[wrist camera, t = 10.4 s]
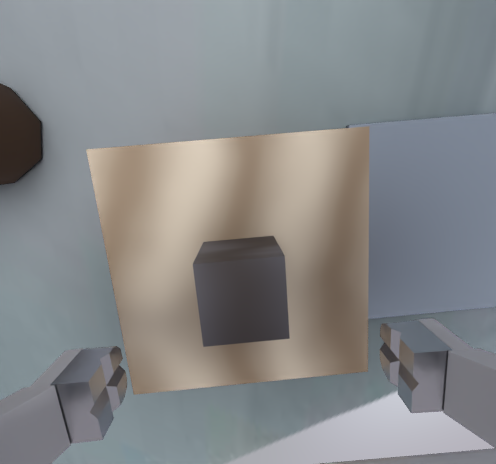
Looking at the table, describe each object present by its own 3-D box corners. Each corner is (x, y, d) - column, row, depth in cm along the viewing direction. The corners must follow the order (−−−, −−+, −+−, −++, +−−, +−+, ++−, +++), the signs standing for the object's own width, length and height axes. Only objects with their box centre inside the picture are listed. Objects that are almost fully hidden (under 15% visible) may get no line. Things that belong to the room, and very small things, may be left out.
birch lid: (359, 129, 16) (414, 110, 11) (360, 359, 20) (403, 425, 14) (97, 150, 16) (33, 141, 11) (140, 380, 19) (105, 455, 14)
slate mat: (552, 108, 23) (559, 107, 23) (527, 300, 27) (532, 303, 26) (346, 126, 23) (349, 124, 23) (348, 318, 27) (350, 320, 26)
